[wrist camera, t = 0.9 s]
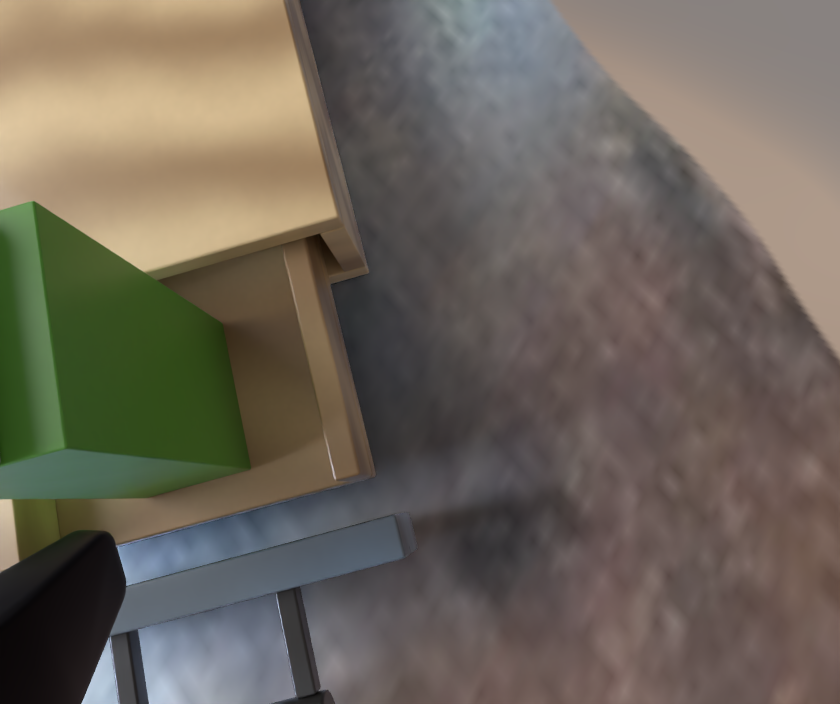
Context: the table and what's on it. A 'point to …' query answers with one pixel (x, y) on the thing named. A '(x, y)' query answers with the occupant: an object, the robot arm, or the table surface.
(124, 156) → the cabinet
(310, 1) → the table surface
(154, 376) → the green block white ridge
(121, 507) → the drawer
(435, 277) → the table surface
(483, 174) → the table surface
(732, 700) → the table surface
